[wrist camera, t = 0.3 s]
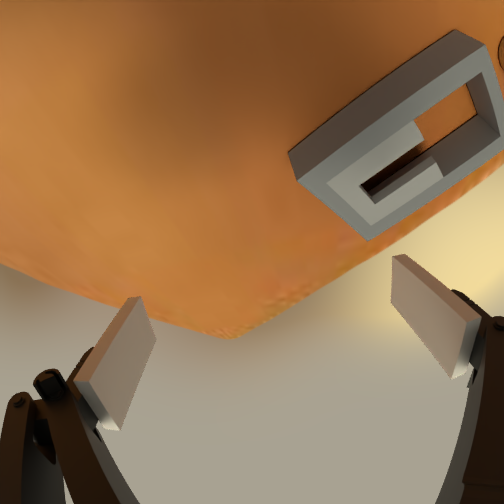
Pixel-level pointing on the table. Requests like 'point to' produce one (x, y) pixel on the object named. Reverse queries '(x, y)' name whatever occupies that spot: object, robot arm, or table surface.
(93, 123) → the table surface
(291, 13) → the table surface
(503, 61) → the steel peg
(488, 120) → the keyhole plate
